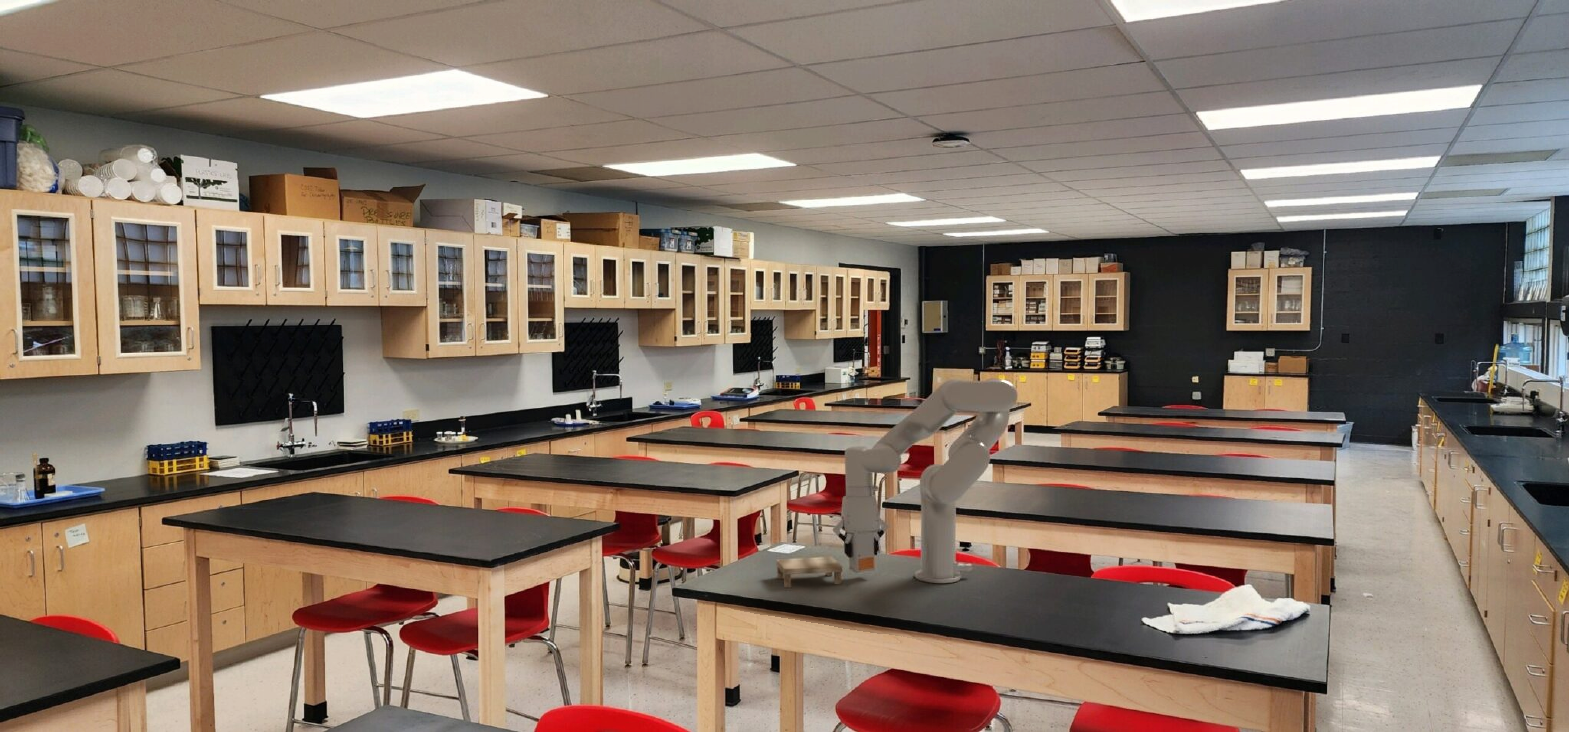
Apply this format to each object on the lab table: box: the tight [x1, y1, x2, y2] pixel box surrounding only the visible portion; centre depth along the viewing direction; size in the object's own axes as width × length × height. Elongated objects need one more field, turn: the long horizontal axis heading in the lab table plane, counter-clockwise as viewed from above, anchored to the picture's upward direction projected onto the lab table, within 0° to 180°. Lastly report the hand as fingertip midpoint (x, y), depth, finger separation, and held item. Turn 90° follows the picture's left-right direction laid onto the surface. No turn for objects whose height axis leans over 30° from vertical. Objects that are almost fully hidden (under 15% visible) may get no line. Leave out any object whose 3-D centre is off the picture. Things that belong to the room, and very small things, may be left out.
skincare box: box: [848, 529, 876, 574], centre depth 262 cm, size 6×4×12 cm
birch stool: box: [775, 556, 843, 588], centre depth 260 cm, size 16×11×5 cm
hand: (861, 554), depth 262 cm, fingers closed on skincare box, 6 cm apart
